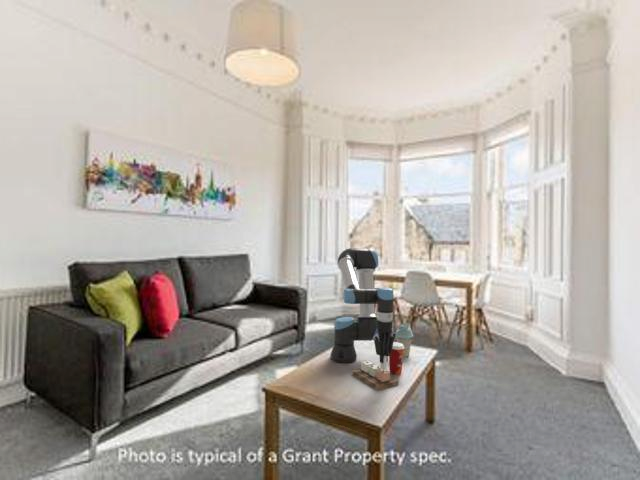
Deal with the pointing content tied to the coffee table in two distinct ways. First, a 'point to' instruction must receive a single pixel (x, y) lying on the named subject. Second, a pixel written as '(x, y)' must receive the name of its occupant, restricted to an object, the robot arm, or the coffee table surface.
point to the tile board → (374, 380)
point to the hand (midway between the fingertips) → (383, 368)
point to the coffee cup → (396, 358)
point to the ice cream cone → (404, 337)
